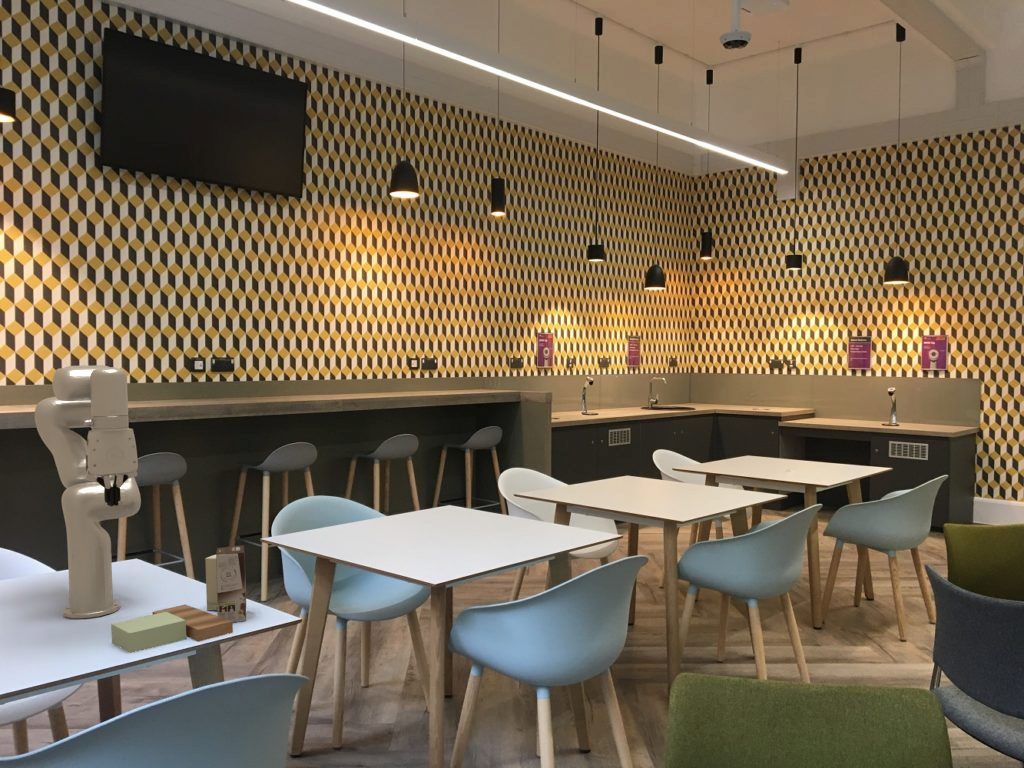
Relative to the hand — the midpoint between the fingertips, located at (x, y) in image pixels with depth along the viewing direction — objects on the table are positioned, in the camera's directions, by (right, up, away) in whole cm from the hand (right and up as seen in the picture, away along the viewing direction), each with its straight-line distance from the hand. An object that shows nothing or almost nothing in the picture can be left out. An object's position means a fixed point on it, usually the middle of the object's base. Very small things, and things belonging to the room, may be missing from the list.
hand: (112, 505), depth 195 cm
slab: (+11, -29, -6) cm, 32 cm away
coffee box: (+24, -28, +10) cm, 38 cm away
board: (+17, -29, +3) cm, 33 cm away
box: (+18, -28, +18) cm, 38 cm away
